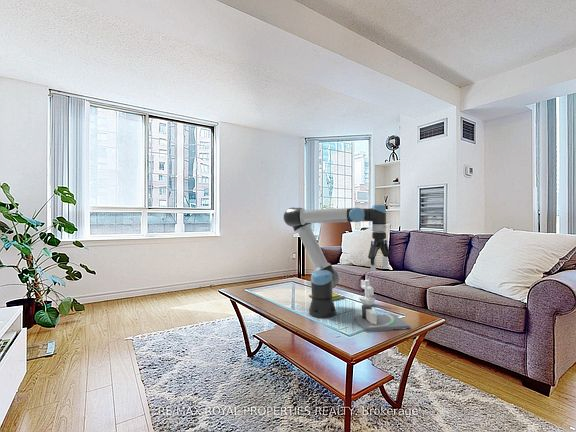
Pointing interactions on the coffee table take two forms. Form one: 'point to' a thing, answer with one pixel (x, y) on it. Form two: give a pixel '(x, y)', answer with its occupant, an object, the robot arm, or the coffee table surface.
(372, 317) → the white and grey lever
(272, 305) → the coffee table surface
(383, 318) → the tuner board
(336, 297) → the wooden puzzle
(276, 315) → the coffee table surface
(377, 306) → the coffee table surface
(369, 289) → the white faucet
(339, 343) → the coffee table surface
